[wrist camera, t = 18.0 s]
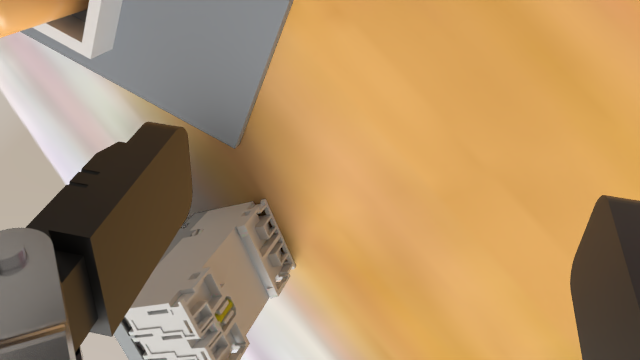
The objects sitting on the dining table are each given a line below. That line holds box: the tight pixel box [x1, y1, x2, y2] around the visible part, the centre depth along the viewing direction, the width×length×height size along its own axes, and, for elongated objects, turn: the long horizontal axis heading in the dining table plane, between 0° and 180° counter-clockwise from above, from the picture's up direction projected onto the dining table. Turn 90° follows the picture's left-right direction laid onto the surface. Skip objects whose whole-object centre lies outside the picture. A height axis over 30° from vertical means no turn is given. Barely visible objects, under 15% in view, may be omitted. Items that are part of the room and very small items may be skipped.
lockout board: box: [20, 0, 293, 149], centre depth 49 cm, size 22×14×4 cm, turn 68°
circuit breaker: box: [114, 199, 296, 360], centre depth 54 cm, size 8×14×15 cm, turn 112°
